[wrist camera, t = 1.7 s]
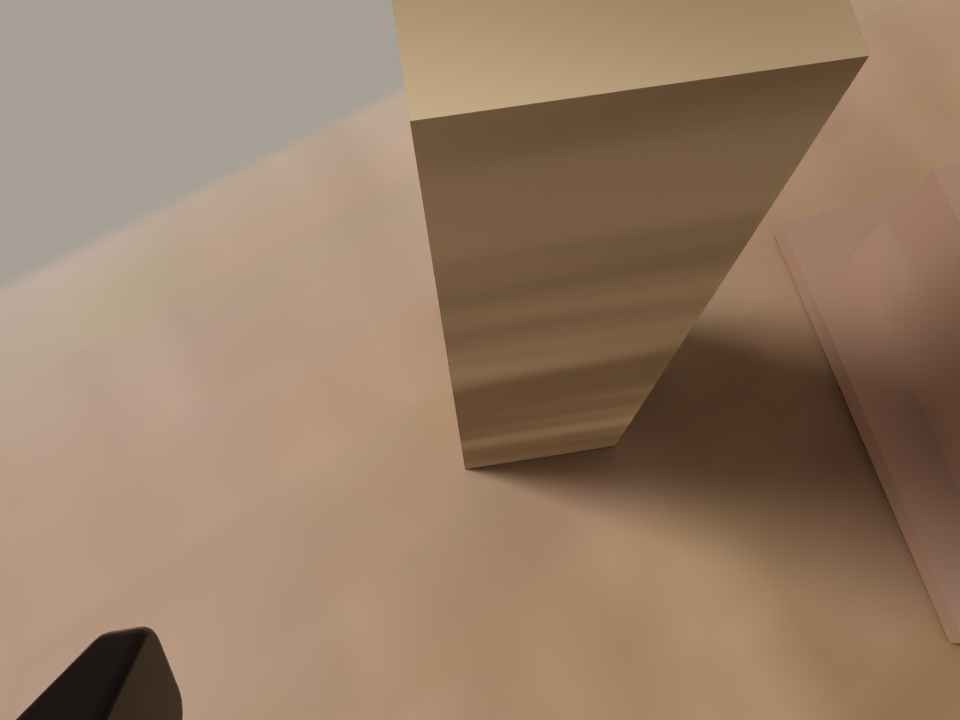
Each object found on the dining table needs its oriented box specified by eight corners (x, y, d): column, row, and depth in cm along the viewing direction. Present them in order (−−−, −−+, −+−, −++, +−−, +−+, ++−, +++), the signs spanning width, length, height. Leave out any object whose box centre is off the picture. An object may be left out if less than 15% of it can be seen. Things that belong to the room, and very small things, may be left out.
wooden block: (615, 445, 20) (869, 55, 6) (465, 469, 20) (411, 120, 6) (586, 305, 21) (753, -277, 8) (443, 327, 21) (357, -226, 7)
